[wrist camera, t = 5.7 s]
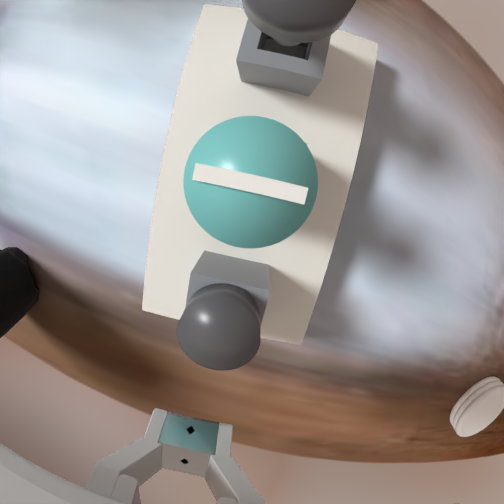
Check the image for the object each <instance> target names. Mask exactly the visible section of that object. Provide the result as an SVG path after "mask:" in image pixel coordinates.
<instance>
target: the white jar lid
mask: <svg viewBox="0 0 504 504" xmlns="http://www.w3.org/2000/svg"><path fill="white" fill-rule="evenodd" d="M503 408H504V384H503V383H502V382H501V381H500V379H499V378H497V377H494V376H492V377H487V378H485V379H482V380H480V381H479V382H477V383H476V384H474V385H473V386H472V387H470V388H469V389H468V390H467V391H466V392H465V393H464V394H463V395H462V396H461V397H460V398H459V400H458V401H457V402H456V404H455V405H454V407H453V409H452V411H451V413H450V423H451V425H452V426H453V428H454V430H456V433H457V435H459V436H461V437H468V436H471V435H474V434H476V433H478V432H480V431H481V430H483V429H484V428H486V427H487V426H488V425H489V424H490V423H492V422H493V421H494V420H495V418H496V417H497V416H498V415H499V414H500V413H501V411H502V410H503Z"/></svg>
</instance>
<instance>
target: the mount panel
mask: <svg viewBox="0 0 504 504" xmlns="http://www.w3.org/2000/svg"><path fill="white" fill-rule="evenodd" d="M378 45H379V44H378V43H376V42H373V41H370V40H368V39H365V38H362V37H359V36H357V35H354V34H351V33H348V32H345V31H342V30H338V29H337V30H336V31H335V32H334V33H333V34H332V35H330V36H328V37H326V38H324V39H322V40H319V41H315V42H309V43H300V44H298V45H296V46H283V45H280V44H278V43H277V42H276V41H275V40H274V39H273V38H272V37H271V36H269V35H267V34H265V33H263V32H262V31H260V30H259V29H258V28H256V27H255V26H254V25H253V24H252V23H251V22H250V20H249V19H248V18H247V16H246V14H245V11H244V8H238V7H229V6H220V5H208V4H204V5H203V8H202V11H201V14H200V17H199V20H198V23H197V26H196V29H195V32H194V35H193V38H192V41H191V44H190V48H189V51H188V54H187V58H186V61H185V65H184V68H183V72H182V75H181V79H180V83H179V87H178V90H177V94H176V98H175V102H174V106H173V111H172V115H171V119H170V124H169V128H168V133H167V137H166V142H165V147H164V152H163V157H162V162H161V167H160V173H159V178H158V184H157V190H156V196H155V202H154V208H153V215H152V222H151V229H150V237H149V245H148V253H147V262H146V272H145V282H144V293H143V306H142V310H144V311H148V312H152V313H155V314H159V315H163V316H167V317H171V318H174V319H178V320H180V318H181V316H182V314H183V312H184V310H185V308H186V306H187V304H188V302H189V300H190V298H191V297H192V296H193V294H194V293H195V292H196V291H198V290H199V289H201V288H203V287H204V286H207V285H210V284H216V283H225V284H231V285H234V286H237V287H239V288H241V289H243V290H245V291H246V292H247V293H248V294H250V295H251V296H252V298H253V299H254V300H255V302H256V303H257V305H258V308H259V311H260V317H261V331H260V338H264V339H270V340H275V341H281V342H286V343H292V344H298V345H301V344H302V341H303V339H304V336H305V333H306V330H307V327H308V324H309V321H310V319H311V316H312V313H313V310H314V307H315V304H316V301H317V298H318V295H319V292H320V289H321V285H322V282H323V279H324V276H325V273H326V270H327V266H328V263H329V260H330V256H331V253H332V250H333V246H334V243H335V240H336V236H337V233H338V229H339V225H340V222H341V218H342V215H343V211H344V207H345V203H346V200H347V196H348V192H349V188H350V184H351V180H352V176H353V172H354V168H355V164H356V160H357V155H358V151H359V146H360V142H361V137H362V133H363V128H364V123H365V119H366V114H367V109H368V104H369V98H370V93H371V88H372V82H373V76H374V71H375V65H376V58H377V52H378ZM241 116H260V117H266V118H270V119H273V120H276V121H278V122H280V123H282V124H284V125H286V126H287V127H289V128H290V129H292V130H293V131H294V132H295V133H297V134H298V135H299V137H300V138H301V139H302V140H303V141H304V142H305V144H306V145H307V147H308V148H309V150H310V152H311V154H312V156H313V158H314V161H315V164H316V168H317V174H318V191H317V196H316V200H315V203H314V206H313V209H312V211H311V213H310V215H309V216H308V218H307V219H306V221H305V222H304V223H303V225H302V226H301V227H300V228H299V229H298V230H297V231H296V232H295V233H293V234H292V235H291V236H289V237H288V238H286V239H285V240H283V241H281V242H279V243H276V244H274V245H271V246H267V247H263V248H253V249H252V248H239V247H234V246H231V245H228V244H225V243H223V242H221V241H219V240H217V239H215V238H214V237H212V236H211V235H210V234H208V233H207V232H206V231H205V230H204V229H203V228H202V227H201V226H200V225H199V224H198V223H197V221H196V220H195V219H194V217H193V215H192V214H191V212H190V210H189V207H188V205H187V202H186V198H185V194H184V187H183V177H184V170H185V166H186V162H187V159H188V157H189V154H190V152H191V151H192V149H193V147H194V145H195V144H196V143H197V141H198V140H199V139H200V138H201V137H202V136H203V135H204V134H205V133H206V132H207V131H208V130H210V129H211V128H212V127H214V126H216V125H217V124H219V123H221V122H223V121H226V120H228V119H232V118H235V117H241Z"/></svg>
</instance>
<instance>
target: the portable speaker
mask: <svg viewBox="0 0 504 504" xmlns="http://www.w3.org/2000/svg"><path fill="white" fill-rule="evenodd" d="M27 262H28V261H27V255H26V254H25V253H23V252H22V251H21V250H19V249H18V248H17V247H8V248H5V249H3V250H0V338H1V337H2V336H3V335H5V334H6V333H7V332H8V331H9V330H10V329H11V328H12V327H13V326H14V325H15V324H16V323H17V322H18V321H19V320H20V319H21V318H23V317H24V316H25V314H26V312H27V311H28V310H29V309H30V308H31V307H33V305H34V304H35V303H36V302H37V301H38V296H39V290H38V289H36V288H35V285H34V281H33V278H32V275H31V273H30V270H29V268H28V264H27Z"/></svg>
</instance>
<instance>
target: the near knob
mask: <svg viewBox="0 0 504 504" xmlns="http://www.w3.org/2000/svg"><path fill="white" fill-rule="evenodd" d="M242 2H243V8H244V11H245V14H246V16H247V18H248V19H249V20H250V22H251V23H252V24H253V25H254V26H255V27H256V28H258V29H259V30H260V31H262V32H263V33H265V34H267V35H269V36H271V37H272V38H273V39H274V40H275V41H276V42H277V43H278V44H280V45H283V46H296V45H298V44H300V43H309V42H315V41H319V40H322V39H324V38H326V37H328V36H330V35H332V34H333V33H334V32H335V31H336V30H337V29H338V28H339V27H340V26H341V24H342V23H343V21H344V19H345V18H346V16H347V15H348V13H349V11H350V10H351V8H352V7H353V5H354V3H355V2H356V0H242Z"/></svg>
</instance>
